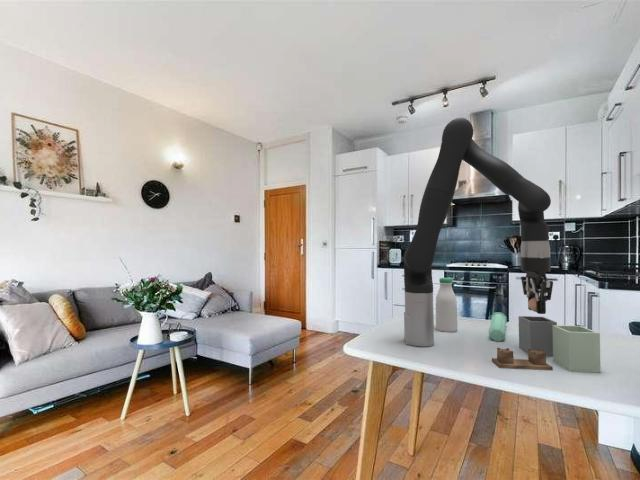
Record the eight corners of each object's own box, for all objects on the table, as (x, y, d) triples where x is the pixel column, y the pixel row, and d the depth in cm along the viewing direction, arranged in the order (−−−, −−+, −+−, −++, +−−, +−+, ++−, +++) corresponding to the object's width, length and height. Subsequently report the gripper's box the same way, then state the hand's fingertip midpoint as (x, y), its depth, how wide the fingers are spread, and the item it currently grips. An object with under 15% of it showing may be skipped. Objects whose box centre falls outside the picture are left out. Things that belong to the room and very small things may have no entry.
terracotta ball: (532, 313, 94) (532, 298, 94) (525, 310, 98) (525, 296, 99) (549, 313, 93) (548, 298, 94) (540, 310, 98) (540, 296, 98)
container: (502, 324, 105) (503, 310, 127) (483, 329, 108) (488, 314, 130) (510, 342, 104) (510, 324, 126) (491, 346, 107) (494, 328, 129)
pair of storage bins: (552, 370, 82) (551, 331, 82) (519, 347, 100) (518, 316, 100) (600, 372, 80) (599, 333, 80) (557, 349, 98) (557, 317, 98)
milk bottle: (460, 332, 118) (459, 279, 118) (440, 332, 118) (439, 279, 118) (452, 327, 125) (451, 277, 126) (433, 327, 126) (432, 277, 126)
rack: (499, 367, 84) (499, 352, 84) (491, 360, 89) (491, 346, 89) (552, 370, 82) (552, 354, 82) (542, 363, 87) (541, 348, 87)
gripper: (511, 255, 104) (512, 307, 104) (534, 256, 90) (535, 317, 89) (536, 255, 103) (537, 307, 102) (563, 256, 89) (564, 317, 88)
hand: (536, 311), depth 96 cm, fingers closed on terracotta ball, 4 cm apart
